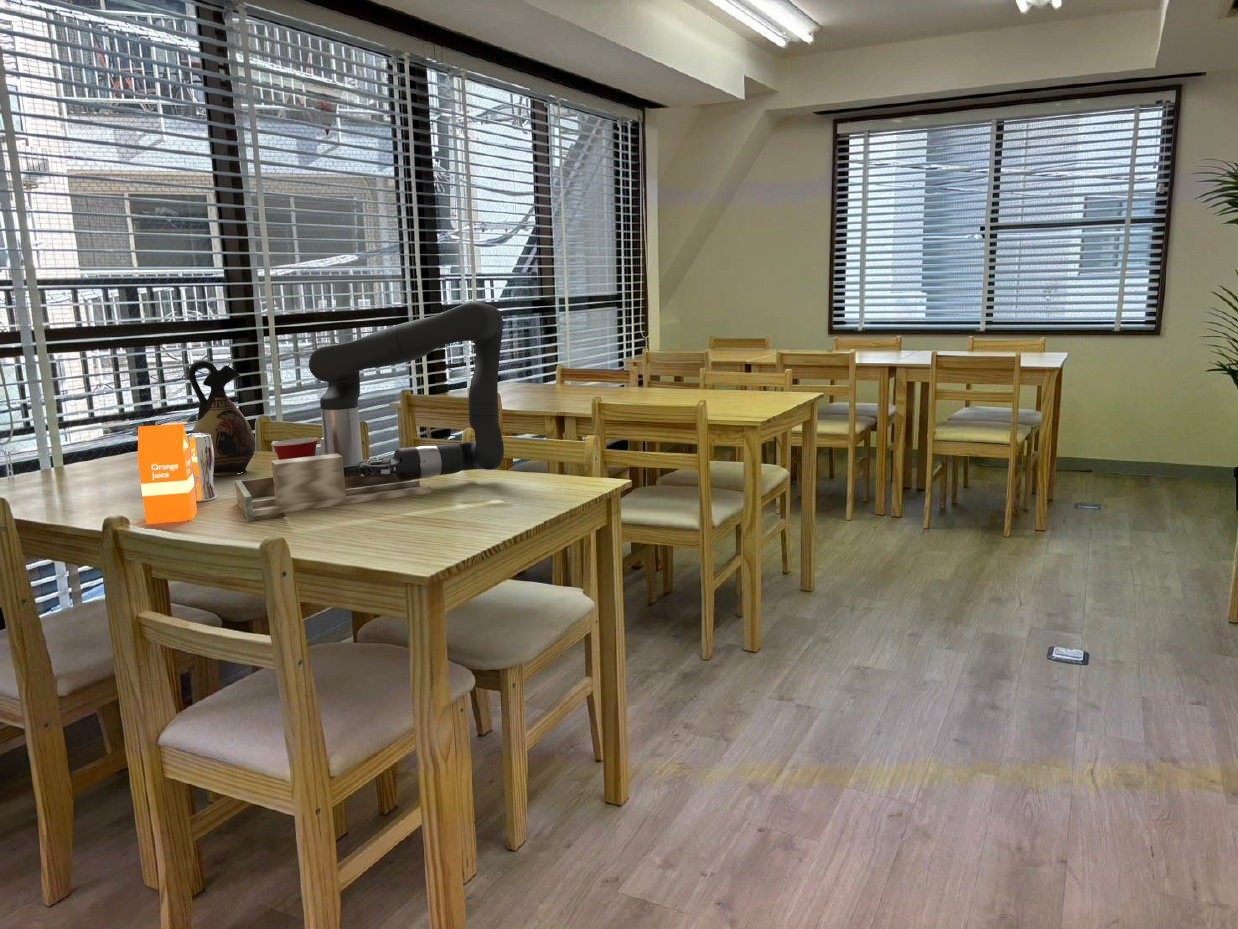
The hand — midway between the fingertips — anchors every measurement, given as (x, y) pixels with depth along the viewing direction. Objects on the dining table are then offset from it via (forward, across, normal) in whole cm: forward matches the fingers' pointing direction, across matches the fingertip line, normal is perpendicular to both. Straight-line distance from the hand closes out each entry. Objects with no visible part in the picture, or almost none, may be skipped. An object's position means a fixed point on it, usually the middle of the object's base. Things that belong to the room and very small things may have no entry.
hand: (341, 471), depth 202 cm
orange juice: (+34, -7, +7) cm, 36 cm away
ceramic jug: (+20, -54, +7) cm, 58 cm away
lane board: (+1, -4, +7) cm, 8 cm away
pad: (+15, -8, +6) cm, 18 cm away
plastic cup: (+6, -23, +7) cm, 24 cm away
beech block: (+7, 0, +6) cm, 9 cm away
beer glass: (+27, -24, +7) cm, 37 cm away
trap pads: (-2, -8, +6) cm, 11 cm away
